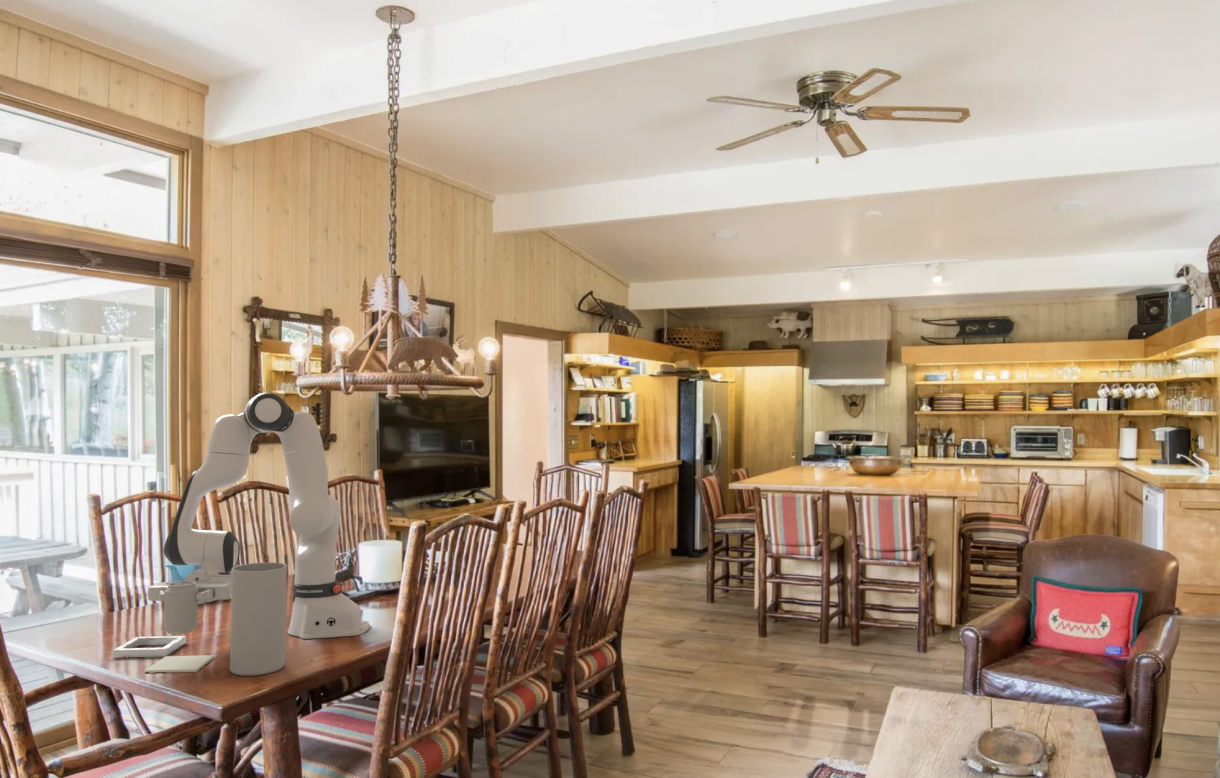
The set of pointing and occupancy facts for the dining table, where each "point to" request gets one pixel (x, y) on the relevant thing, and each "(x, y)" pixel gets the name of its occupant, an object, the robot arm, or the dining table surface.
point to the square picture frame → (132, 651)
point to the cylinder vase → (258, 618)
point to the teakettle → (181, 571)
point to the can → (181, 607)
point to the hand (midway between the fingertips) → (180, 597)
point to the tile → (180, 663)
